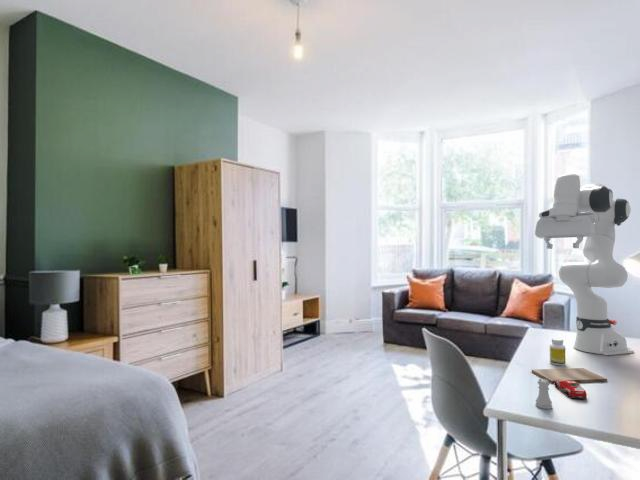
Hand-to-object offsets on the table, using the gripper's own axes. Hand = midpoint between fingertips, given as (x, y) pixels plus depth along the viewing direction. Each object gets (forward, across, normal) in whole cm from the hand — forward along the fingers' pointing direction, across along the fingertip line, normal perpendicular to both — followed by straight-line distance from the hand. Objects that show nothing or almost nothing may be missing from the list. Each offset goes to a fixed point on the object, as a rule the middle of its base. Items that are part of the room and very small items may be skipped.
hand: (562, 248), depth 155 cm
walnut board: (+47, -4, -4) cm, 47 cm away
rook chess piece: (+56, -11, +27) cm, 63 cm away
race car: (+52, -11, +10) cm, 54 cm away
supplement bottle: (+43, +6, -17) cm, 47 cm away
